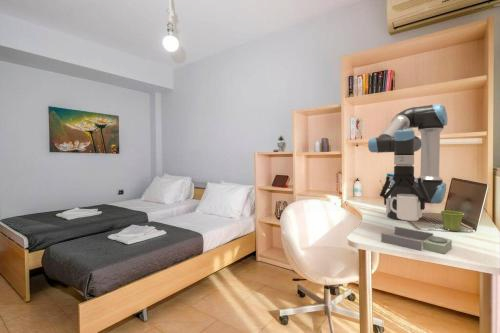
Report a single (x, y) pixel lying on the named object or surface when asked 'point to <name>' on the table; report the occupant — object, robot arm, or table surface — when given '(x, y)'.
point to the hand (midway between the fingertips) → (403, 214)
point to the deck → (429, 244)
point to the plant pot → (452, 220)
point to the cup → (406, 207)
